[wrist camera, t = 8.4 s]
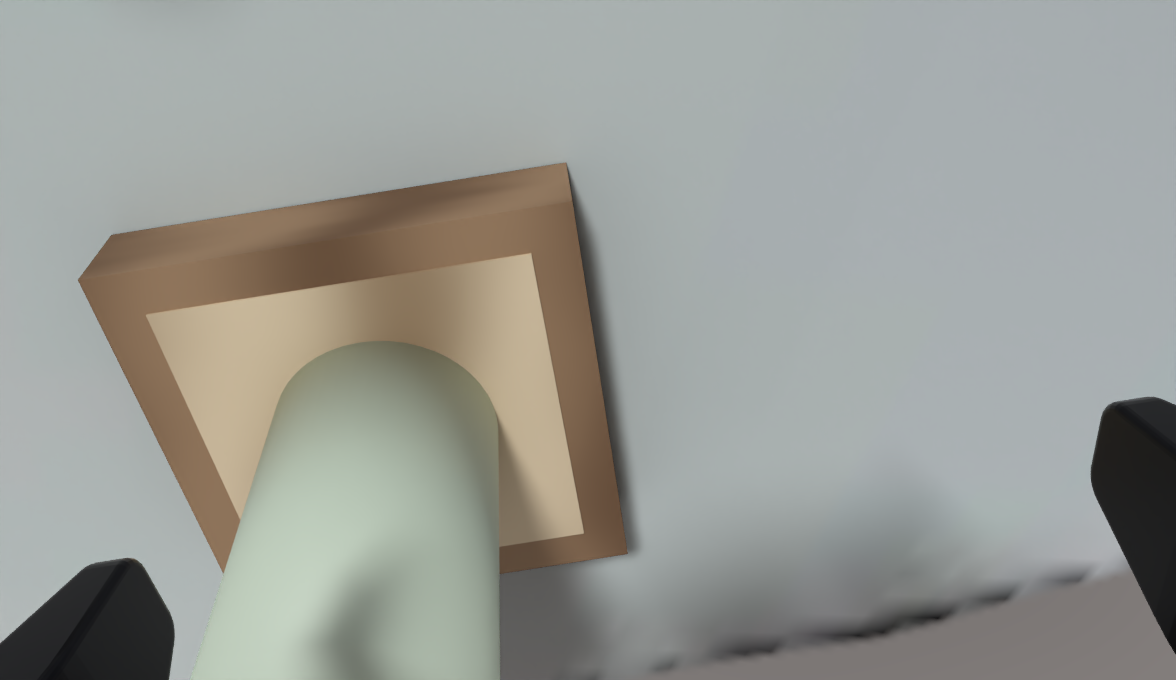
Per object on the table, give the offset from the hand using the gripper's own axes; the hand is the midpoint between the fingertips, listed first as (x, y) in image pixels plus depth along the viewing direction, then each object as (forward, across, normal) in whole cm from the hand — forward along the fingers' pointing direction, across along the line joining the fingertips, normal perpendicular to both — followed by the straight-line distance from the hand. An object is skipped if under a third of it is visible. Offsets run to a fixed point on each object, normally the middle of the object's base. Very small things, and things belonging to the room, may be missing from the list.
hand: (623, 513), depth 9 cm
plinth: (+13, +5, +7) cm, 15 cm away
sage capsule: (+11, +5, +7) cm, 14 cm away
